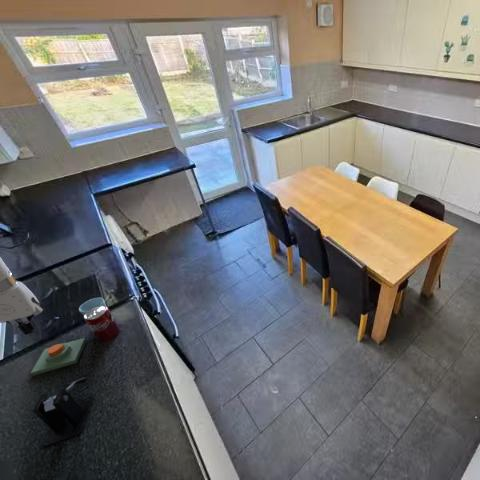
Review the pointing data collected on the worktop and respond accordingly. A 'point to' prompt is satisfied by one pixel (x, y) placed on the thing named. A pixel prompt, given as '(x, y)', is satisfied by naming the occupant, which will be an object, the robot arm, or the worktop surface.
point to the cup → (91, 305)
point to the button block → (59, 357)
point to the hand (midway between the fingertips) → (31, 330)
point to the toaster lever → (49, 402)
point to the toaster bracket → (63, 416)
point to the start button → (55, 349)
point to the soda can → (102, 323)
